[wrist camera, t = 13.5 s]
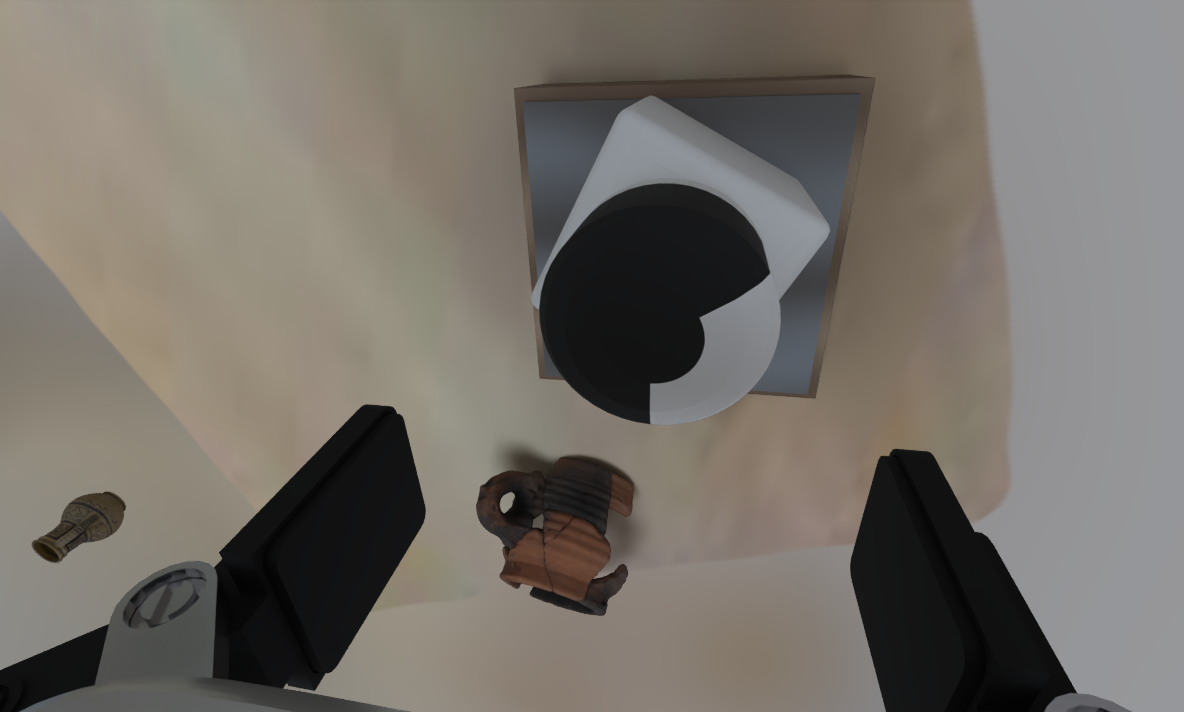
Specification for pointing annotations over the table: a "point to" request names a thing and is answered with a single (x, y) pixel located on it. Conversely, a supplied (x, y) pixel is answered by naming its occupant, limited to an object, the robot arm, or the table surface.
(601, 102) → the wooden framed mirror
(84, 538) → the brown patterned vase
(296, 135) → the table surface
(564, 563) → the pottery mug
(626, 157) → the medicine bottle
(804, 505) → the table surface
